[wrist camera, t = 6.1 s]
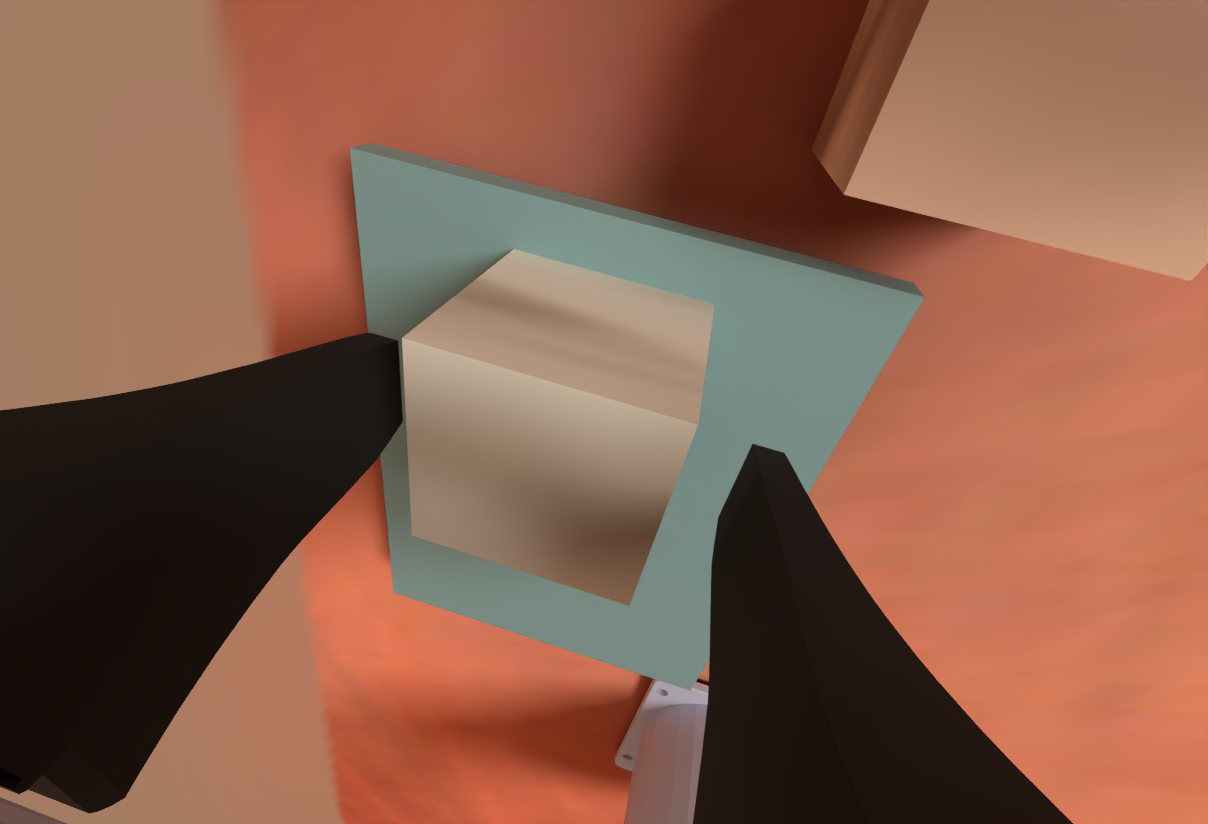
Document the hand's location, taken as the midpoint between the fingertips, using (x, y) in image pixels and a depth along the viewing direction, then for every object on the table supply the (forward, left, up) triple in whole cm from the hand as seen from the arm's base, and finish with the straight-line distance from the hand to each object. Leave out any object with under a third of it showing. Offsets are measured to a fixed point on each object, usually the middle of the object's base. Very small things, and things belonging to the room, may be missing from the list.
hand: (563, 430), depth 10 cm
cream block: (0, 0, -3) cm, 3 cm away
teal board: (-4, 0, -4) cm, 6 cm away
